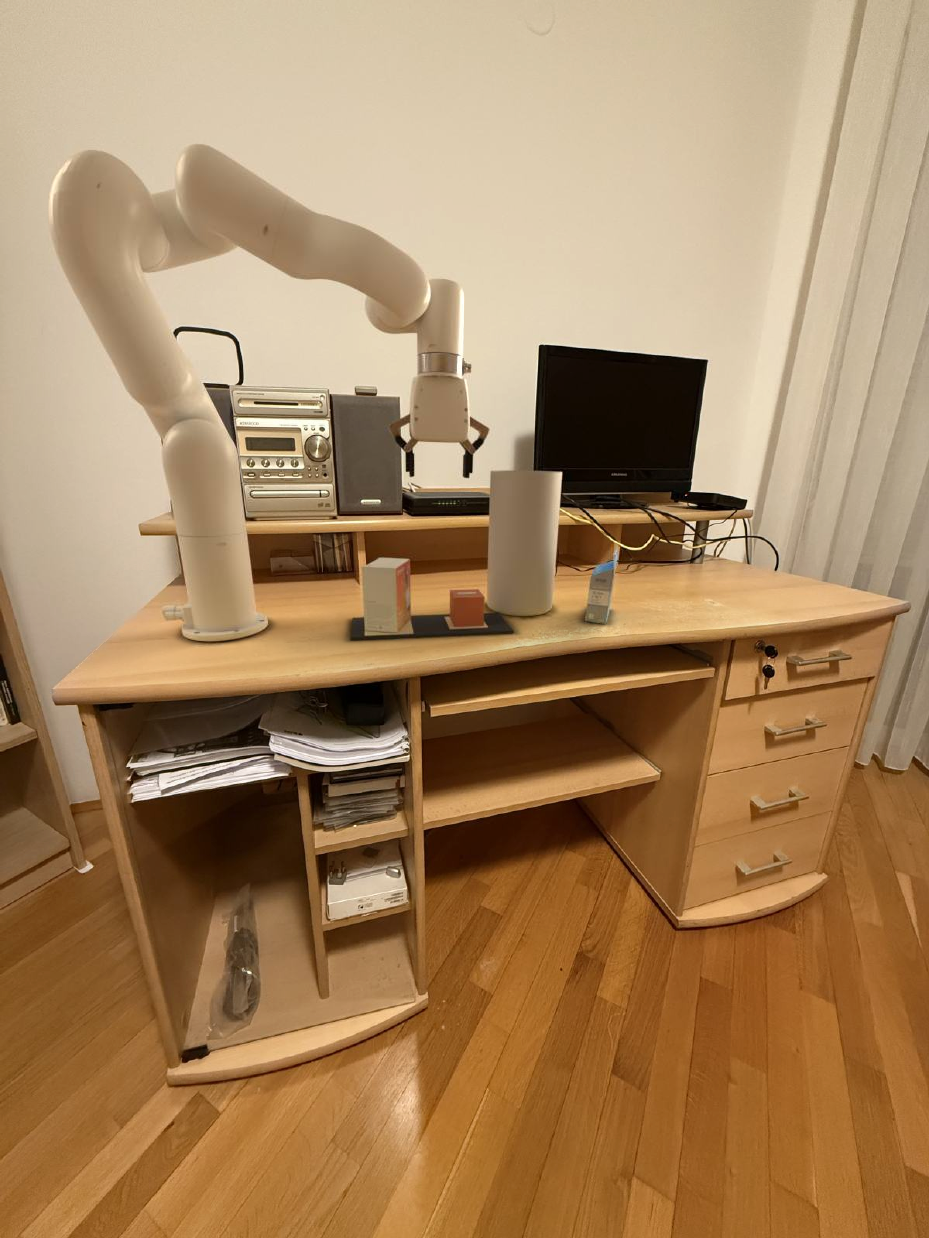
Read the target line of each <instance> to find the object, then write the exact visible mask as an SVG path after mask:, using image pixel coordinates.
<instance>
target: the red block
mask: <svg viewBox="0 0 929 1238" xmlns="http://www.w3.org/2000/svg"><path fill="white" fill-rule="evenodd" d="M485 598H486V597H485V595H484V594H483V593H482V592H481V590H480V589H479V588H477V589H476V588H475V589H473V588H472V589H471V588H470V589H449V614H450V619H451V621H452V623H453V626H454V627H466V626H484V613H485V600H486V599H485Z"/></svg>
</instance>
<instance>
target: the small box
mask: <svg viewBox="0 0 929 1238" xmlns="http://www.w3.org/2000/svg"><path fill="white" fill-rule="evenodd" d="M361 580H362V581H361V582H362V601H363V602H362V604H363V605H362V606H363V617H364V623H365V631H378V632H393V633H398V632H399V630H400V629H401V628H402V627H403V626H404V625H405V624H406V623H407V622H408V621H409V620H410V619H411V616H412V606H411V605H412V604H411V603H412V602H411V601H412V598H411V597H412V595H411V559H409V558H398V557H397V558H396V557H377V558H376V559H375V560H373V561H371V562H369V563H368V564H365V565H363V566H361Z"/></svg>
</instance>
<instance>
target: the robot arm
mask: <svg viewBox="0 0 929 1238" xmlns="http://www.w3.org/2000/svg"><path fill="white" fill-rule="evenodd" d="M174 186H175V188H172V189H168V190H165V191H159V192H155V193H151V192H150V191H149V189H148V187H147V186H146V185H145V183H144V181H143V179H141V178H140V176H139V175H137V173H136V172H135V171H134V170H133V169H132V168H131V167H130V165H128V164H126V163H125V162H124V161H123V160H121V159H119V158H118V157H116V156H114V155H112V154H111V153H108V152H105V151H102V150H97V149H86V150H82V151H80V152H77V153H74V154H73V155H71V156H70V157H69V158H68V159H67V160H66V161H64V163H63V164H62V165H61V166H60V168H59V169H58V171H57V173H56V174H55V177H54V178H53V181H52V184H51V186H50V190H49V195H48V203H47V208H48V209H47V216H48V217H47V218H48V226H49V231H50V236H51V240H52V244H53V247H54V251H55V253H56V256H57V259H58V261H59V263H60V266H61V269H62V271H63V273H64V275H65V277H66V279H67V281H68V283H69V285H70V287H71V289H72V291H73V293H74V295H75V296H76V298H77V300H78V302H79V304H80V305H81V307H82V309H83V311H84V313H85V315H86V317H87V318H88V321H89V323H90V324H91V326H92V328H93V330H94V332H95V334H96V336H97V337H98V339H99V341H100V343H101V344H102V346H103V348H104V350H105V352H106V353H107V355H108V357H109V359H110V360H111V363H112V364H113V366H114V368H115V370H116V372H117V374H118V376H119V378H120V380H121V383H122V384H123V386H124V388H125V390H126V392H127V393H128V394H129V396H131V398H132V399H133V400H134V401H135V402H136V403H138V404H139V405H140V406H141V407H142V408H143V410H144V411H145V413H146V415H147V417H148V418H149V420H150V422H151V424H152V425H153V427H154V429H155V431H156V433H157V434H158V436H159V438H160V439H161V441H162V445H161V461H162V462H161V463H162V467H163V473H164V476H165V481H166V485H167V489H168V494H169V498H170V503H171V508H172V513H173V514H172V515H173V519H174V527H175V531H176V535H177V541H178V546H179V552H180V559H181V564H182V571H183V577H184V582H185V588H186V595H187V601H188V603H184V605H163V606H162V610H161V613H162V616H163V618H164V619H165V621H168V622H169V621H180V620H181V621H182V622H184V623H183V624H182V626H181V634H182V636H183V637H185V638H186V639H188V640H190V641H191V640H192V641H198V642H223V641H232V640H237V639H242V638H245V637H246V638H247V637H250V636H253V635H255V634H258V633H260V632H261V631H263V630H265V629H266V628H267V627H268V625H269V621H268V620H269V619H268V616H266V615H265V614H264V613H262V612H258V611H257V605H256V597H255V587H254V581H253V574H252V573H253V571H252V564H251V556H250V546H249V540H248V531H247V525H246V516H245V510H244V501H243V491H242V483H241V472H240V461H239V454H238V449H237V446H236V444H235V442H234V441H233V439H232V437H231V435H230V434H229V431H228V430H227V428H226V426H225V424H224V422H223V420H222V418H221V416H220V415H219V412H218V410H217V408H216V406H215V405H214V402H213V400H212V398H211V396H210V394H209V392H208V391H207V389H206V386H205V384H204V382H203V381H202V378H201V377H200V375H199V373H198V370H197V369H196V367H195V364H193V362H192V360H191V359H190V358H189V356H188V355H187V354H186V353H185V351H184V350H183V348H182V346H181V345H180V343H179V342H178V340H177V338H176V335H175V334H174V332H173V331H172V329H171V326H170V325H169V323H168V321H167V319H166V317H165V315H164V313H163V311H162V309H161V307H160V304H159V303H158V300H157V298H156V296H155V294H154V291H153V290H152V288H151V286H150V284H149V283H148V280H147V278H146V276H145V273H147V274H149V273H157V272H158V273H159V272H163V271H167V270H171V269H174V268H178V267H182V266H186V265H190V264H194V263H199V262H202V261H206V260H209V259H213V258H216V257H220V256H222V255H224V254H228V253H230V252H232V251H233V250H236V249H237V248H238V247H239V248H240V249H242V250H244V251H246V252H247V253H249V254H251V255H253V256H254V257H256V258H258V259H260V260H261V261H263V262H265V263H266V264H269V265H270V266H272V267H274V268H275V269H277V270H278V271H280V272H282V273H284V274H285V275H287V276H289V277H290V278H293V279H298V280H305V281H306V280H307V281H308V280H309V281H310V280H328V281H332V282H333V281H334V282H337V283H340V284H343V285H346V286H348V287H350V288H353V289H354V290H357V291H359V292H360V293H362V294H364V295H366V296H365V300H364V309H365V314H366V317H367V319H368V321H369V322H370V324H371V325H372V326H373V327H374V328H375V329H377V330H378V331H380V332H382V333H385V334H389V335H390V334H391V335H400V334H416V351H417V352H416V369H417V370H416V371H417V372H416V376H414V377H413V378H412V381H411V385H410V386H411V387H410V394H409V413H408V414H407V415H404V416H403V417H401V418H398V419H397V420H395V421H393V422H391V423H390V424H388V430H389V432H390V434H391V436H392V438H393V440H394V442H395V443H396V444H397V445H398V447H400V448H401V449H402V450H403V452H404V453H405V456H404V458H405V460H404V463H405V473H408V476H409V478H413V477H415V453H414V448H415V446H416V445H417V444H418V442H423V443H444V444H445V443H446V444H447V443H448V444H449V443H451V444H455V443H458V444H459V445H460V447H462V449H463V450H464V454H463V455H462V478H464V479H470V475H471V474H473V472H474V454H475V453H476V452H477V451H478V450H479V449H480V448H481V447H482V446H483V445H484V444H485V443H484V442H485V441H486V439H487V438H488V435H489V433H490V428H489V427H488V426H487V425H485V424H483V423H482V422H480V421H478V420H477V419H475V418H474V417H472V416H470V400H469V399H470V398H469V390H468V389H469V388H468V383H467V379H466V378H463V376H464V375H465V374H470V373H472V364H471V363H467V362H466V361H465V358H464V327H465V326H464V324H465V323H464V322H465V321H464V320H465V319H464V317H465V294H464V293H465V292H464V290H463V287H462V286H461V285H460V284H459V282H456V281H454V280H451V279H447V278H431V279H429V278H428V276H427V274H426V272H425V271H424V269H423V267H421V266H420V264H419V263H418V262H417V261H416V260H415V259H414V258H413V257H411V256H410V255H409V254H407V253H406V252H405V251H403V250H401V249H400V248H399V247H397V246H396V245H394V244H392V242H390V241H388V240H387V239H385V238H384V237H382V236H381V235H379V234H377V233H375V232H374V231H372V230H370V229H367V228H366V227H363V226H361V225H359V224H356V223H352V222H349V221H345V220H342V219H340V218H336V217H334V216H331V215H327V214H322V213H318V212H315V211H314V210H312V209H310V208H309V207H307V206H305V205H303V204H302V203H300V202H298V201H297V200H295V199H294V198H292V197H291V196H289V195H288V194H286V193H285V192H283V191H282V190H280V189H279V188H277V187H275V186H274V185H272V184H271V183H269V182H268V181H266V180H264V179H263V178H261V177H260V176H259V175H257V174H255V173H254V172H252V171H251V170H249V169H248V168H247V167H245V166H244V165H242V164H240V162H237V161H236V160H234V159H233V158H232V157H229V156H228V155H226V154H225V153H223V152H221V151H220V150H218V149H216V148H215V147H212V146H210V145H208V144H207V145H206V144H203V143H193V144H189V145H188V146H186V147H185V148H184V149H183V150H182V151H181V152H180V154H179V156H178V157H177V160H176V164H175V169H174ZM407 425H408V426H409V427H408V428H409V429H408V430H409V437H410V438H409V440H408V441H406V440H405V439H404V438H403V437H402V436H401V433H400V431H399V429H401V428H402V427H405V426H407ZM471 428H472V429H474V430H476V431H477V432H478V436H477V438H476V439H475V440H474V441H473V442H471V441H470V439H469V438H470V434H471V433H470V432H471Z"/></svg>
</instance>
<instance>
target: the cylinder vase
mask: <svg viewBox="0 0 929 1238" xmlns="http://www.w3.org/2000/svg"><path fill="white" fill-rule="evenodd" d="M489 478H490V480H489V509H488V511H489V512H488V543H487V545H488V547H487V575H486V576H487V577H486V578H487V579H486V605H487V607H488V609H490V610H491V611H493V612H499V613H500V615H506V616H514V617H533V616H534V617H535V616H540V615H543V614H546V613H548V612H549V611H551V610H552V607H553V603H554V591H555V590H554V589H555V576H556V564H557V561H556V560H557V549H558V537H559V536H558V535H559V522H560V520H559V518H560V509H561V508H560V507H561V494H562V481H563V471H555V470H553V471H552V470H551V471H550V470H510V469H509V470H504V469H503V470H501V469H500V470H490V475H489Z"/></svg>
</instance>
